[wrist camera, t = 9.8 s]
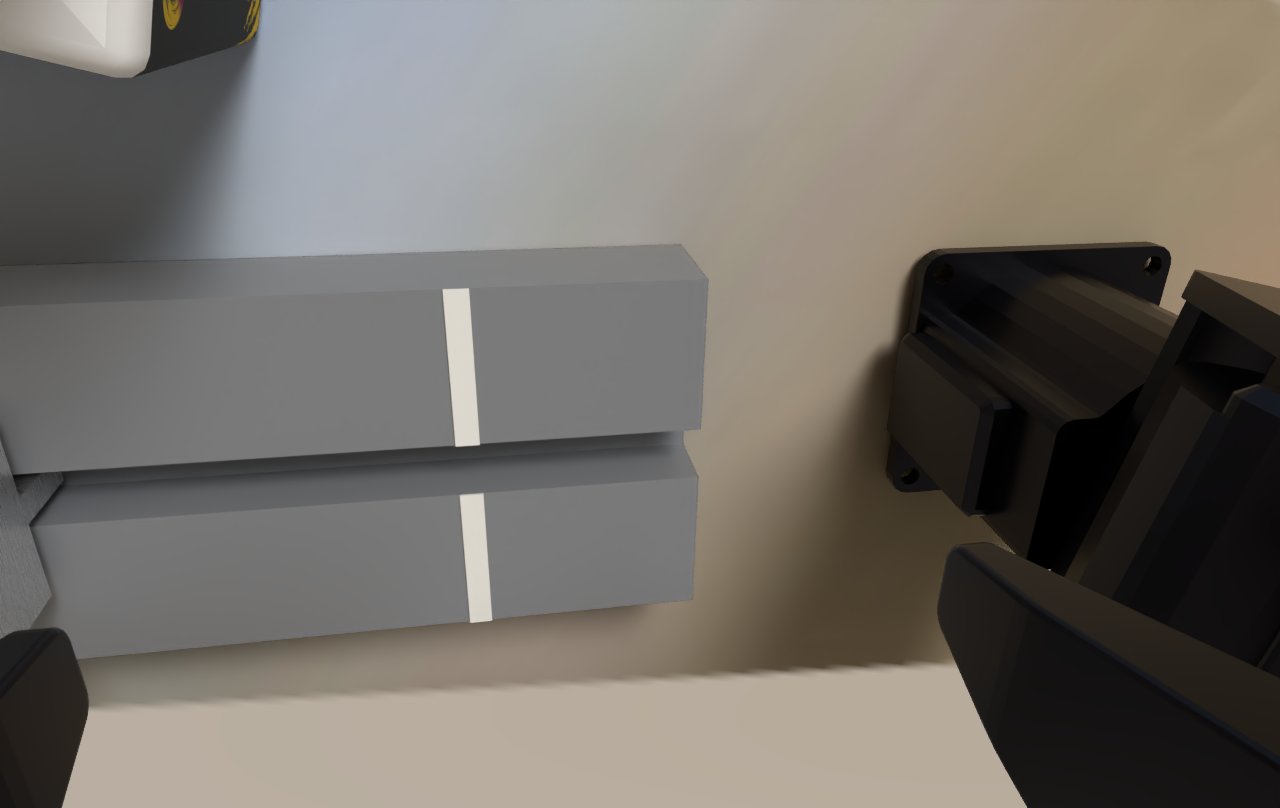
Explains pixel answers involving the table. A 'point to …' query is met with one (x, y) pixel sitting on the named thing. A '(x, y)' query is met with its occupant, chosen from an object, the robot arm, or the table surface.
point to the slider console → (353, 439)
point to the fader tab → (21, 546)
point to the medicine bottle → (124, 31)
